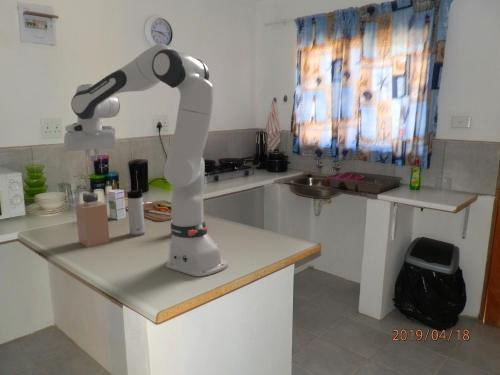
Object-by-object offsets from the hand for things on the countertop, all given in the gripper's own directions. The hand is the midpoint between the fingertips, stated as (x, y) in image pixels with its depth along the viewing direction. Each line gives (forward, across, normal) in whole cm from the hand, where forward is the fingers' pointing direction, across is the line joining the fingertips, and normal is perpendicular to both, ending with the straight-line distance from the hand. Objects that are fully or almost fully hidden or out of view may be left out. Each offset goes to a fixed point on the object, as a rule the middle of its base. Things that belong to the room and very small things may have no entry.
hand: (92, 160), depth 157 cm
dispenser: (+33, +3, +2) cm, 34 cm away
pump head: (+25, +3, +1) cm, 26 cm away
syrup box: (+34, -21, -26) cm, 48 cm away
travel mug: (+34, -15, +6) cm, 37 cm away
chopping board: (+34, -45, -23) cm, 61 cm away
